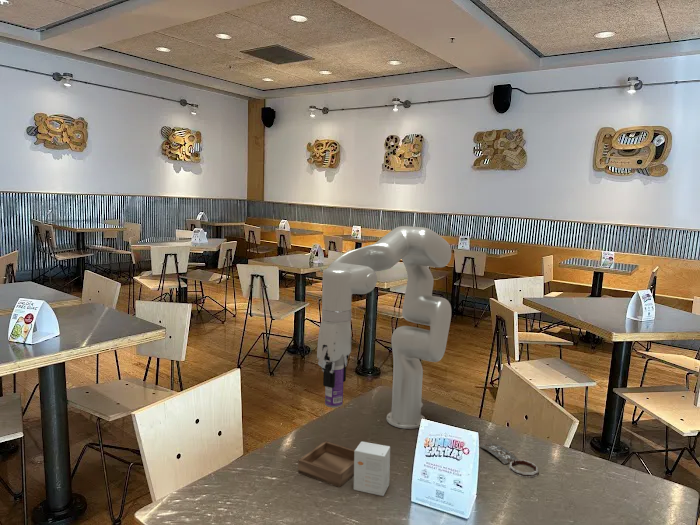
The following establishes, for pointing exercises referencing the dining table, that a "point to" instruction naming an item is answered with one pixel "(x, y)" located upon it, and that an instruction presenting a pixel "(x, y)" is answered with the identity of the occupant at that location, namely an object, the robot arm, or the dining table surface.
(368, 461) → the small box
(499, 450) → the keychain
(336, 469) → the tray
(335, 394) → the container
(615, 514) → the dining table surface
